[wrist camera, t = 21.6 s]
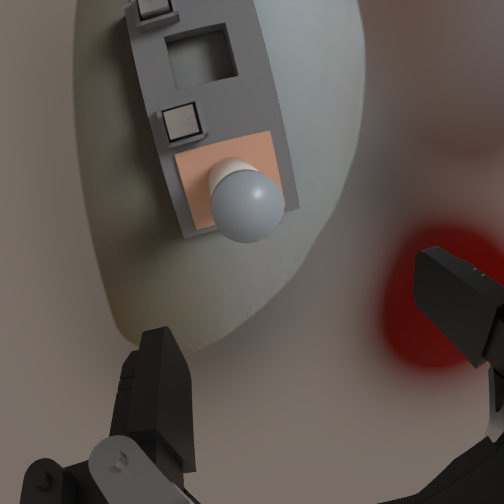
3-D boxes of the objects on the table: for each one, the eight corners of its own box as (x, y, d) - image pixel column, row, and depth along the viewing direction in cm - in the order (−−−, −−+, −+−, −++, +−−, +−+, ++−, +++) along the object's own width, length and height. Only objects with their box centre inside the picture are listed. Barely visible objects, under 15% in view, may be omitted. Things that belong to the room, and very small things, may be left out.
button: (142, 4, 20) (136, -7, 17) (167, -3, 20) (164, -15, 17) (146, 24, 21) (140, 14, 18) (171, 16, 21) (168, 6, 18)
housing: (128, 13, 22) (118, -2, 17) (242, -14, 22) (249, -31, 18) (185, 230, 32) (183, 246, 28) (292, 201, 33) (306, 213, 29)
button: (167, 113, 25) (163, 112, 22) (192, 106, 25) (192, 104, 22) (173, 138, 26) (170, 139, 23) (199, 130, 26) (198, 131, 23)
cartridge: (200, 166, 27) (200, 188, 18) (247, 148, 27) (271, 161, 18) (217, 210, 29) (226, 252, 20) (262, 193, 29) (292, 227, 20)
